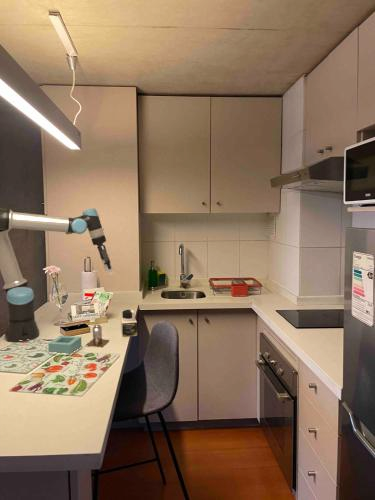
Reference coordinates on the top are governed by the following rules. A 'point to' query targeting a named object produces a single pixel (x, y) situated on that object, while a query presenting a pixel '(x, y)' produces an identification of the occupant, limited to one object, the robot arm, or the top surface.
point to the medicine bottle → (128, 323)
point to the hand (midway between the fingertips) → (109, 272)
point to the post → (97, 337)
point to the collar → (65, 344)
